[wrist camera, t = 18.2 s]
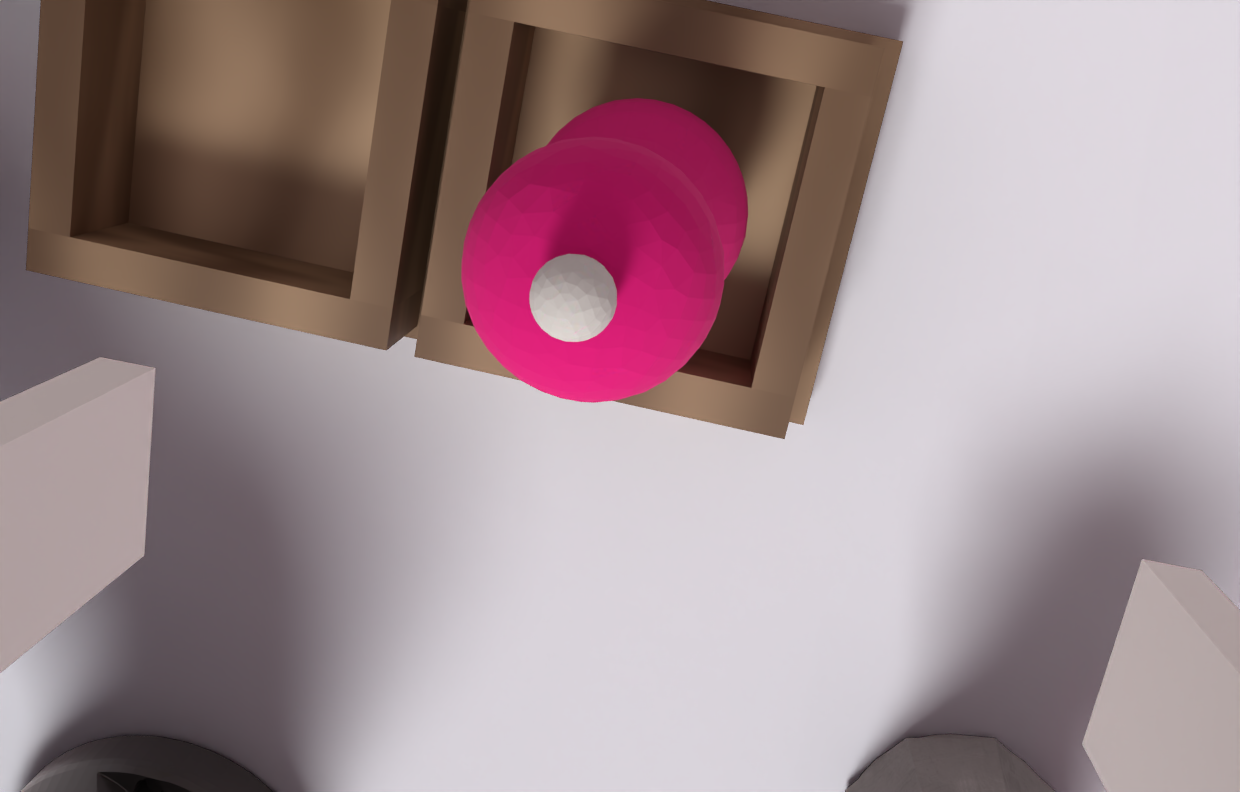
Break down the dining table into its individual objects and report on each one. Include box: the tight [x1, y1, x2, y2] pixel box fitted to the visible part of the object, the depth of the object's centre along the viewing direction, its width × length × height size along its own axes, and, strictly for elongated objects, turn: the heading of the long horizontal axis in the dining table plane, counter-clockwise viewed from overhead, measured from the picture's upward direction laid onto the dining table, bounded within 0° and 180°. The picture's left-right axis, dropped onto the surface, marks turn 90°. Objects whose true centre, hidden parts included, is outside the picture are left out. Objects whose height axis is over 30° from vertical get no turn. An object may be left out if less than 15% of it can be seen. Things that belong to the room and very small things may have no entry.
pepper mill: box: [461, 98, 748, 402], centre depth 32 cm, size 7×7×20 cm
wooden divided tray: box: [26, 0, 903, 439], centre depth 41 cm, size 29×14×6 cm, turn 78°
